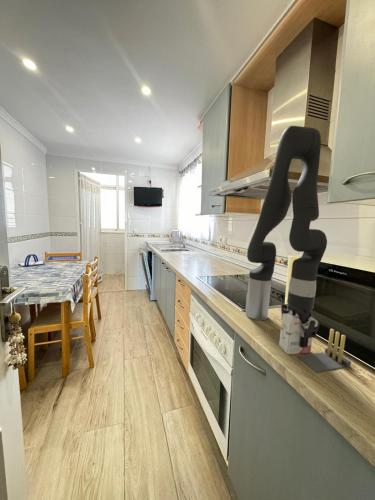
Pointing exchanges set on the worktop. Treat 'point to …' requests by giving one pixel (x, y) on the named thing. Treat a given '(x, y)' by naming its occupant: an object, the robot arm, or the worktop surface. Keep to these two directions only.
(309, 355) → the rubber pad
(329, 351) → the pin header
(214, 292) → the worktop surface
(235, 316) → the worktop surface
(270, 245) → the robot arm
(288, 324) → the ink box
